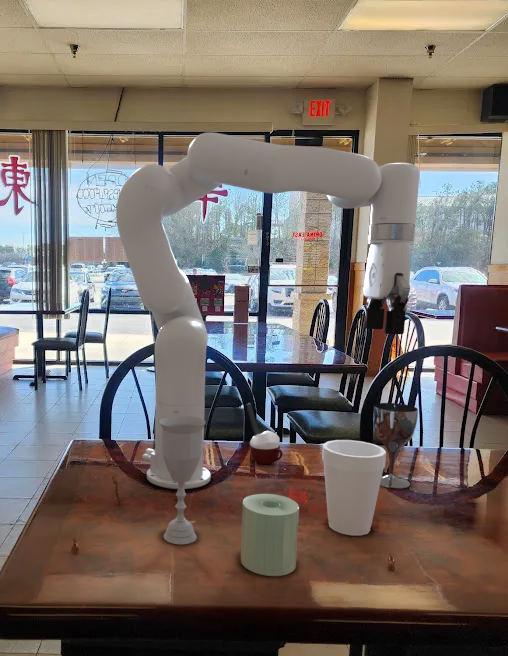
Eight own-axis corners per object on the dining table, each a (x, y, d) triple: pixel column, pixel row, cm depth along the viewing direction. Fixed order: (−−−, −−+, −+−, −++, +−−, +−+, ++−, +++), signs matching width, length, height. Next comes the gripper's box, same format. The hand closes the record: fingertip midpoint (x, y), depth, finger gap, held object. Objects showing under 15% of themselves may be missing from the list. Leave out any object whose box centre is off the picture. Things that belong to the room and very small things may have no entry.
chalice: (188, 552, 82) (190, 430, 80) (148, 540, 86) (150, 423, 84) (210, 533, 88) (214, 419, 86) (173, 522, 92) (175, 413, 90)
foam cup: (349, 544, 85) (354, 460, 84) (306, 521, 93) (310, 444, 92) (393, 532, 90) (399, 452, 88) (348, 511, 98) (353, 437, 96)
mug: (297, 579, 75) (300, 517, 74) (239, 572, 77) (241, 512, 76) (293, 543, 86) (295, 488, 85) (242, 538, 87) (244, 484, 86)
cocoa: (287, 467, 120) (289, 411, 119) (259, 469, 119) (262, 413, 117) (266, 453, 129) (268, 401, 128) (241, 455, 128) (243, 403, 126)
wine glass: (404, 475, 116) (409, 403, 114) (418, 490, 108) (424, 412, 106) (364, 473, 117) (369, 402, 115) (375, 487, 109) (380, 411, 107)
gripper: (354, 238, 111) (348, 326, 113) (388, 231, 94) (380, 335, 96) (393, 240, 111) (386, 328, 113) (434, 233, 94) (425, 337, 96)
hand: (383, 331), depth 104 cm, fingers open, 9 cm apart
